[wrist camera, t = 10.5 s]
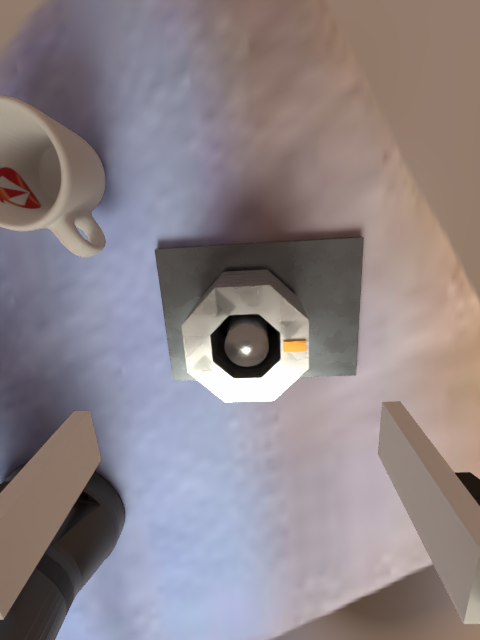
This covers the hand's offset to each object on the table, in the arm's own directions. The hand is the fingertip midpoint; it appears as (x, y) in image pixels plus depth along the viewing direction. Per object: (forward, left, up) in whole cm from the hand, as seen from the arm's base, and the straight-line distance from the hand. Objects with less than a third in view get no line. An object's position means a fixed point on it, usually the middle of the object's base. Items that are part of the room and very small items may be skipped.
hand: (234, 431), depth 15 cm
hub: (0, 0, -16) cm, 16 cm away
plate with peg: (0, 0, -18) cm, 18 cm away
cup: (-14, +12, -18) cm, 25 cm away
